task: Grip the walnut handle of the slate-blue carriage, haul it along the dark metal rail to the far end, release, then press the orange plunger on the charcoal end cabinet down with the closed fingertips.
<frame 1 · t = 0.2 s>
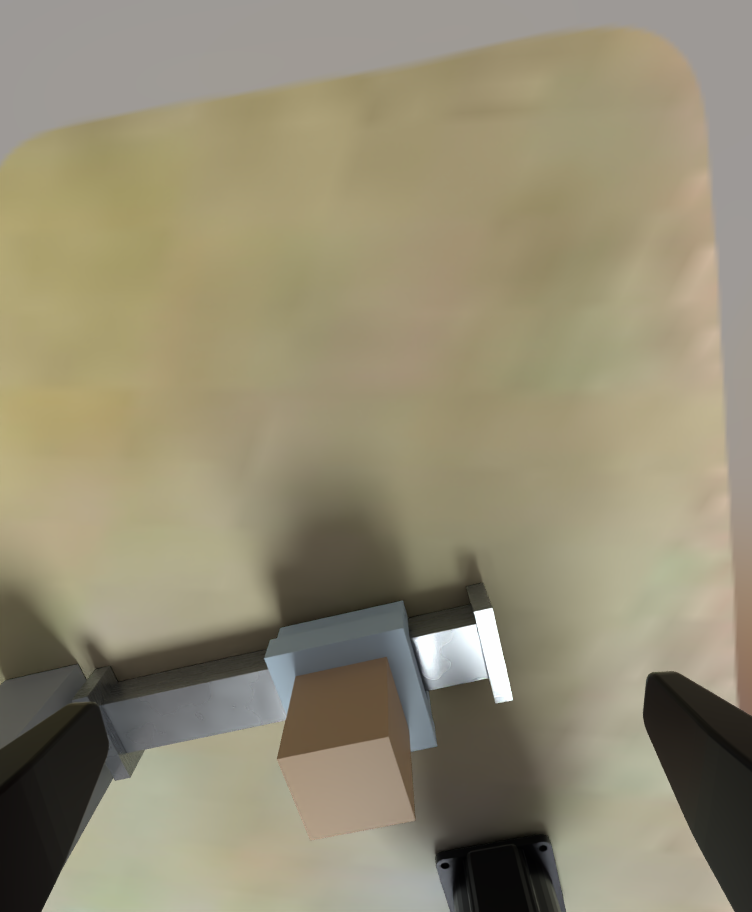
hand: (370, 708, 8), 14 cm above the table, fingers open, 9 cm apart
carriage: (352, 715, 21), point 4 cm above the table, slide at 0.0 cm
rail: (298, 669, 24), on the table
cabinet: (66, 718, 26), on the table
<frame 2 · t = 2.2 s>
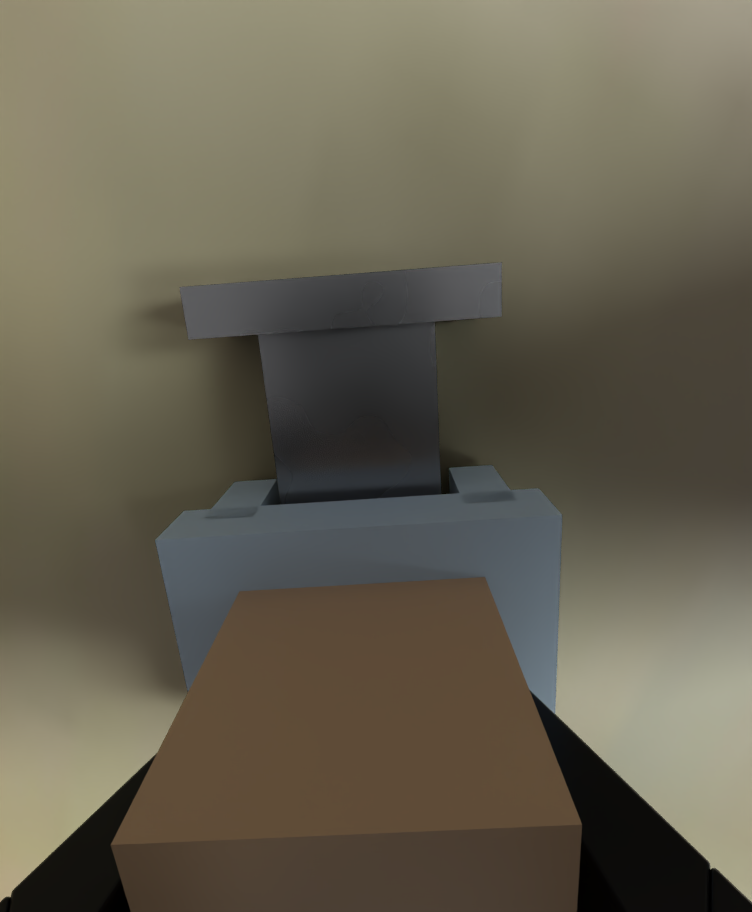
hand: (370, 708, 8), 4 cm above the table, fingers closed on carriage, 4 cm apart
carriage: (369, 715, 8), point 4 cm above the table, slide at 0.0 cm, touching gripper
rail: (381, 698, 12), on the table
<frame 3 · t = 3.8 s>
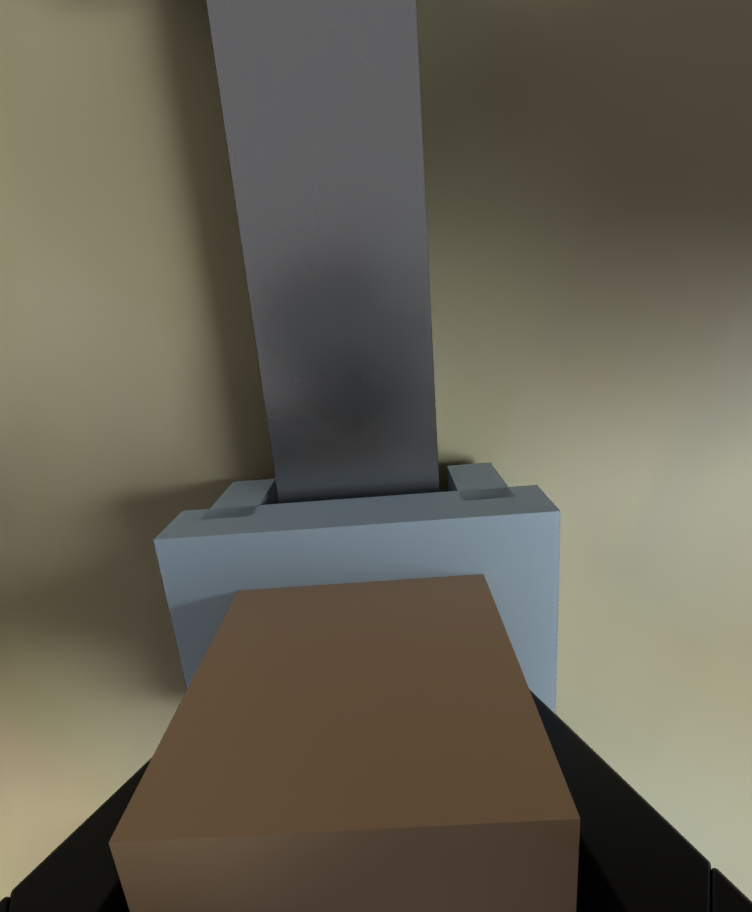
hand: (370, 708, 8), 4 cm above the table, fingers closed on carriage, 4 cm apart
carriage: (369, 713, 8), point 4 cm above the table, slide at 5.8 cm, touching gripper
rail: (362, 478, 11), on the table
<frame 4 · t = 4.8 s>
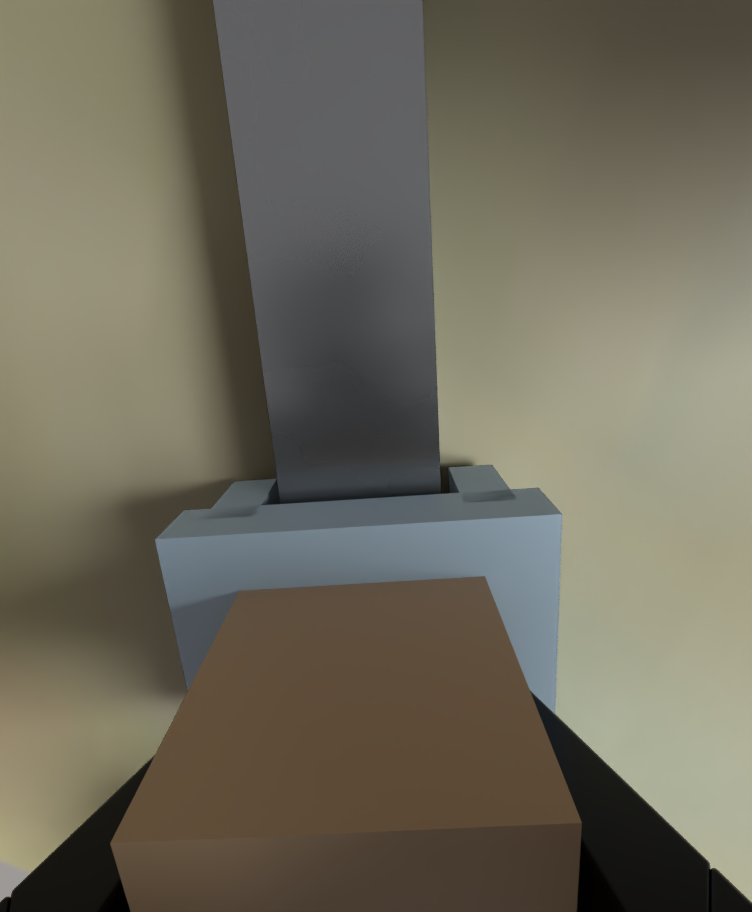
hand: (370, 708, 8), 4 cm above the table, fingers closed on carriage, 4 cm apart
carriage: (369, 715, 8), point 4 cm above the table, slide at 8.4 cm, touching gripper
rail: (353, 353, 10), on the table
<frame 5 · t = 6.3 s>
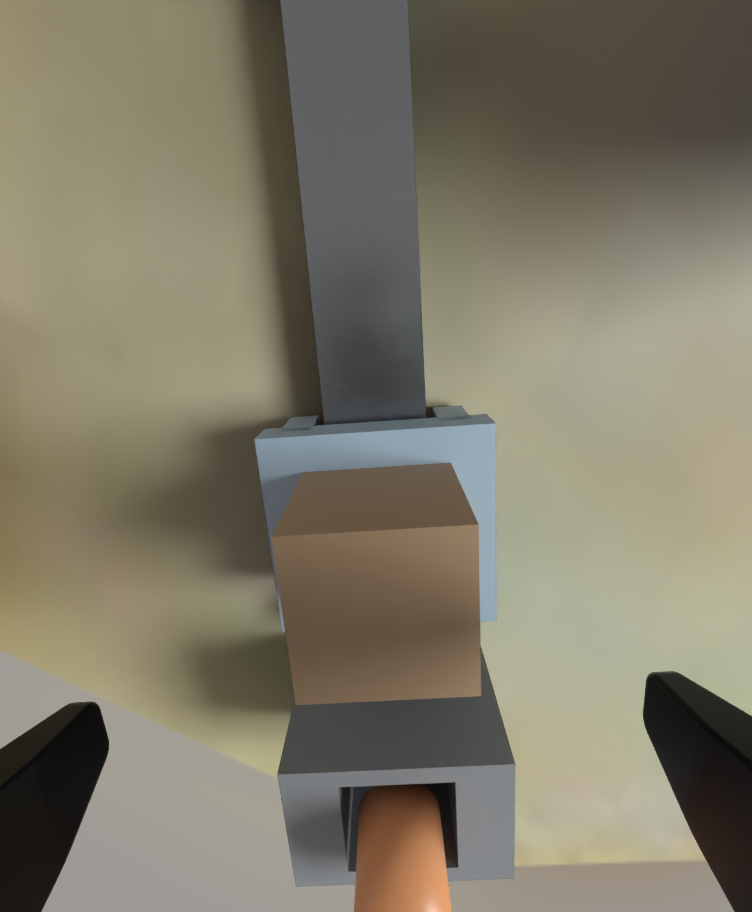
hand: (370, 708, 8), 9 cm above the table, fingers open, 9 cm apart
carriage: (381, 545, 13), point 4 cm above the table, slide at 8.5 cm
rail: (369, 331, 15), on the table
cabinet: (394, 669, 19), on the table
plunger: (401, 869, 12), point 7 cm above the table, slide at 0.0 cm
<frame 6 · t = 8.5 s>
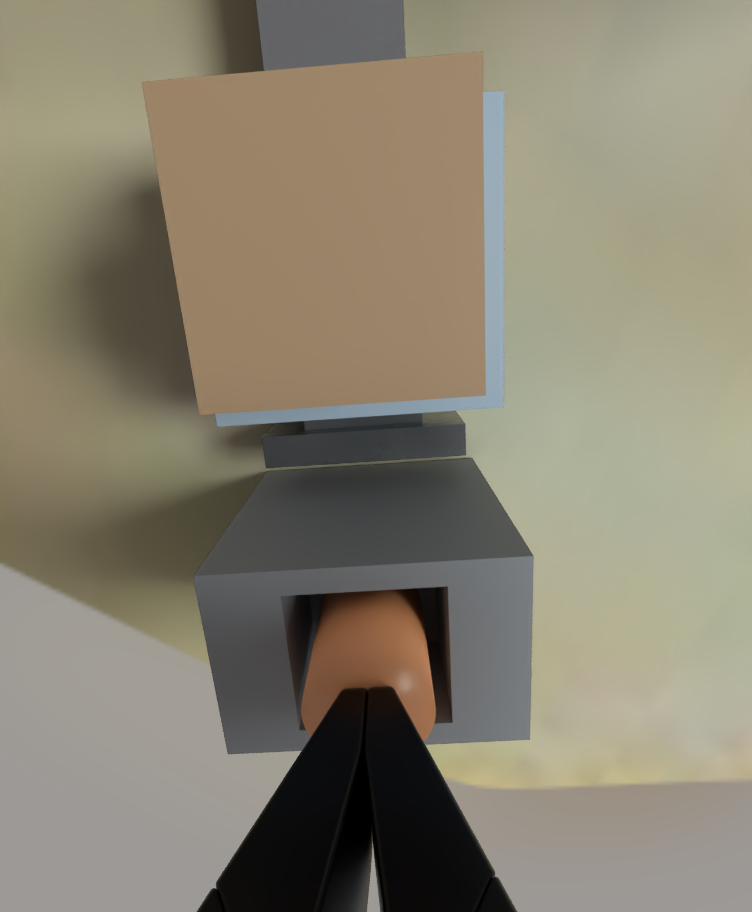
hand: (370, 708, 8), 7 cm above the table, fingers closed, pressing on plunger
carriage: (345, 271, 10), point 4 cm above the table, slide at 8.5 cm
rail: (335, 35, 12), on the table
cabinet: (374, 527, 15), on the table
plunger: (370, 651, 10), point 6 cm above the table, slide at 1.3 cm, touching gripper
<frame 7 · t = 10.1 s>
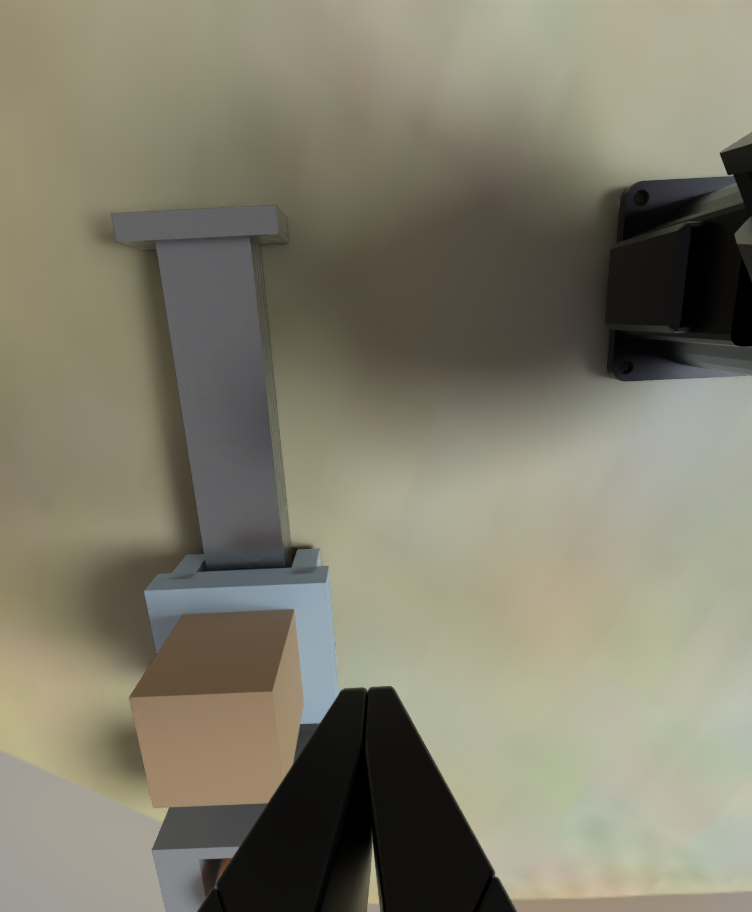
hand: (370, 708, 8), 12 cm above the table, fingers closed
carriage: (240, 671, 18), point 4 cm above the table, slide at 8.5 cm
rail: (247, 491, 20), on the table
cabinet: (279, 745, 23), on the table
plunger: (250, 873, 18), point 5 cm above the table, slide at 1.5 cm
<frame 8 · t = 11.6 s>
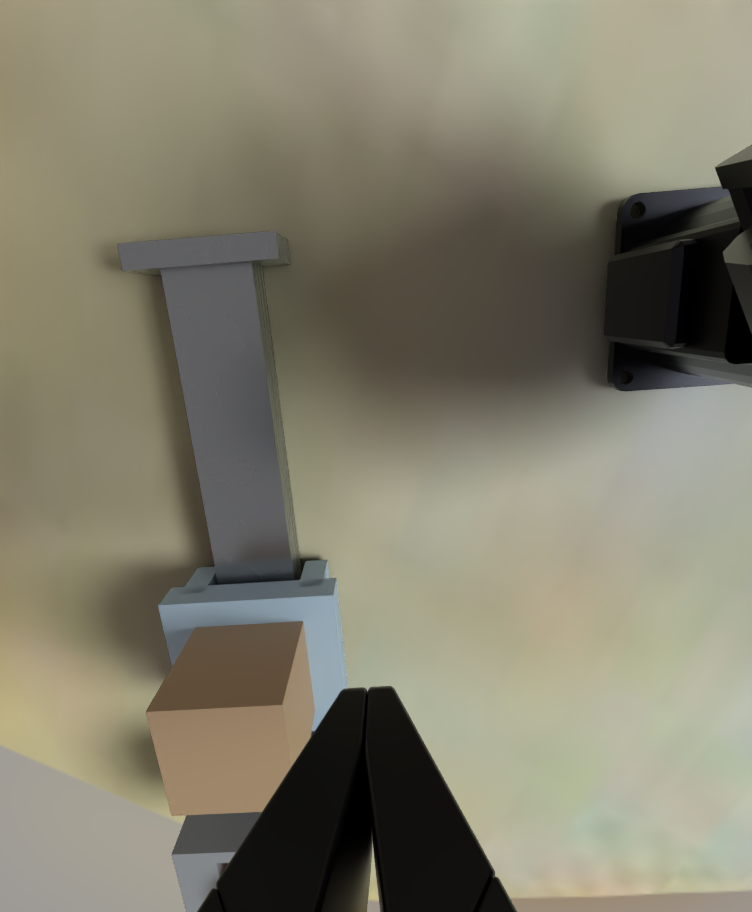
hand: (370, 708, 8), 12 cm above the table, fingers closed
carriage: (252, 682, 18), point 4 cm above the table, slide at 8.5 cm
rail: (255, 505, 20), on the table
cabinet: (292, 749, 24), on the table
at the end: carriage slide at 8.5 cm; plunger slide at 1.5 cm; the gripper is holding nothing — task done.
